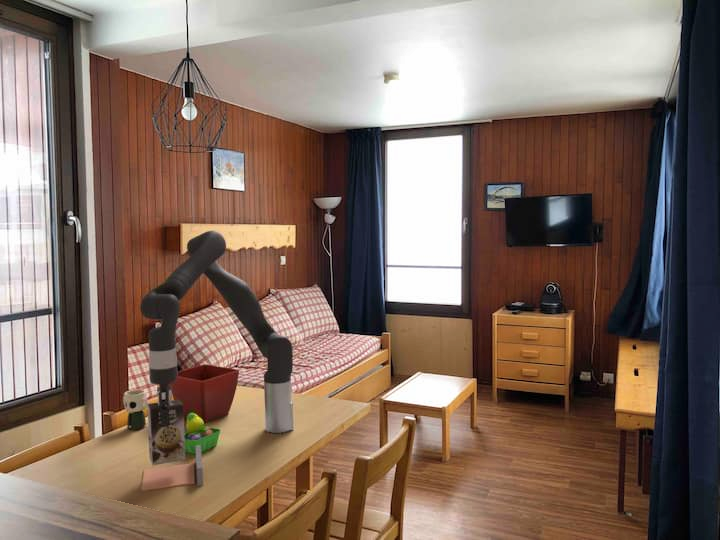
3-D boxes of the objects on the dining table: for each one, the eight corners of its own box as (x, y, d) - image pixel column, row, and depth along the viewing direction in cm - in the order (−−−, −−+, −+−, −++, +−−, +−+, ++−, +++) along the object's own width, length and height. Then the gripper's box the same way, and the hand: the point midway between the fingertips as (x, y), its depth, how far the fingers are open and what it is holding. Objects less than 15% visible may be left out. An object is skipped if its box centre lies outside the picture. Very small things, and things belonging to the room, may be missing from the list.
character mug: (117, 429, 211) (115, 393, 210) (132, 422, 218) (130, 388, 217) (141, 433, 207) (139, 396, 206) (155, 426, 213) (153, 390, 212)
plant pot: (242, 412, 226) (240, 369, 225) (204, 427, 210) (202, 381, 209) (206, 405, 237) (205, 363, 235) (168, 419, 221) (165, 374, 219)
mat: (193, 464, 178) (193, 463, 178) (194, 483, 165) (194, 482, 165) (144, 470, 174) (144, 469, 174) (141, 491, 161) (140, 489, 161)
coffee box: (152, 466, 164) (149, 409, 163) (149, 458, 170) (146, 403, 169) (186, 459, 168) (183, 404, 167) (181, 452, 174) (179, 398, 173)
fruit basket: (195, 457, 184) (194, 421, 183) (176, 451, 189) (174, 417, 188) (222, 445, 194) (221, 411, 193) (203, 440, 198) (201, 407, 197)
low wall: (201, 460, 181) (200, 444, 180) (203, 485, 164) (202, 467, 163) (196, 461, 180) (195, 445, 180) (197, 486, 163) (196, 468, 163)
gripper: (176, 369, 161) (179, 428, 163) (177, 358, 175) (180, 413, 176) (147, 372, 159) (150, 432, 160) (150, 360, 173) (153, 416, 174)
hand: (166, 422), depth 168 cm, fingers closed on coffee box, 7 cm apart
